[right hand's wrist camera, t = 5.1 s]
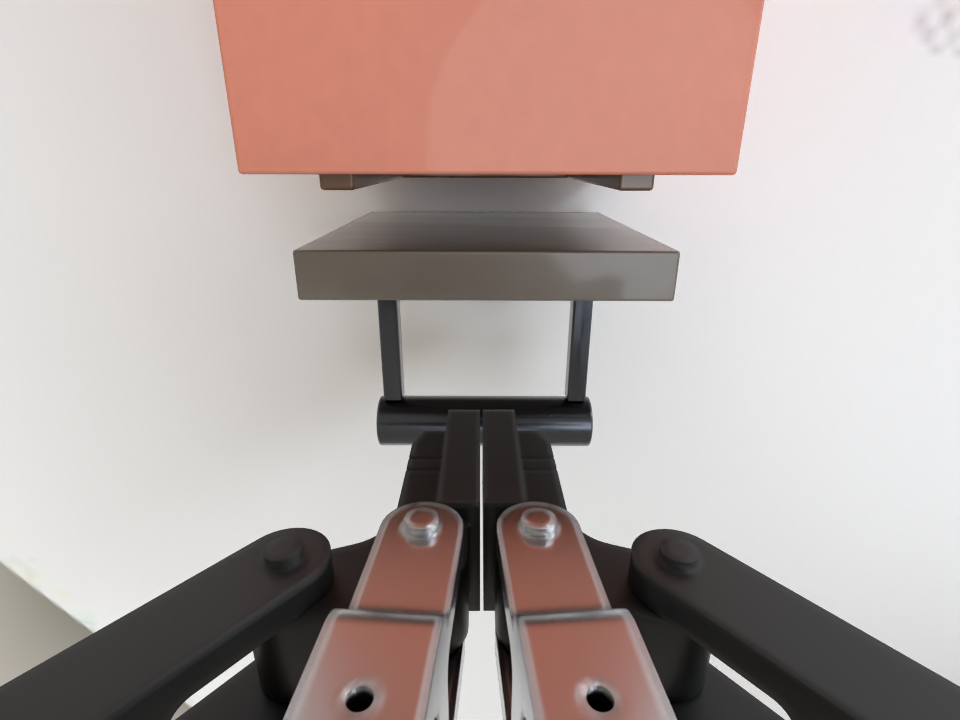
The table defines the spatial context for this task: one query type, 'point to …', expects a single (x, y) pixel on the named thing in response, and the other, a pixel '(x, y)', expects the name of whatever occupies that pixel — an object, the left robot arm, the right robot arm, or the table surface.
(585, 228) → the drawer
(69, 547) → the table surface
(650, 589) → the right robot arm
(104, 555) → the table surface
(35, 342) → the table surface
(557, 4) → the cabinet
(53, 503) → the table surface
